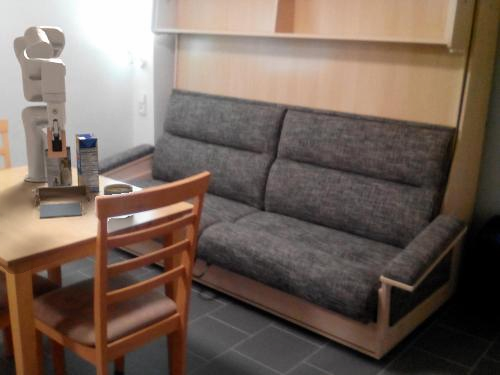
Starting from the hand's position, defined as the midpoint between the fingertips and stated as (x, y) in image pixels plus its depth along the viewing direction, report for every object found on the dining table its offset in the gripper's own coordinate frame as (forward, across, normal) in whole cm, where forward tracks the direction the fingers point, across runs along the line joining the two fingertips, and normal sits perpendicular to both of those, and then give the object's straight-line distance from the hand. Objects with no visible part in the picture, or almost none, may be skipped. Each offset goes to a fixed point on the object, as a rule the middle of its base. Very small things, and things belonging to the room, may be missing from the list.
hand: (57, 149), depth 188 cm
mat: (+23, 0, 0) cm, 23 cm away
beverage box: (+23, +26, -11) cm, 36 cm away
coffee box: (+23, +34, 0) cm, 41 cm away
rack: (+23, +12, -1) cm, 26 cm away
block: (+2, 0, 0) cm, 2 cm away
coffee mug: (+23, -10, -20) cm, 32 cm away
